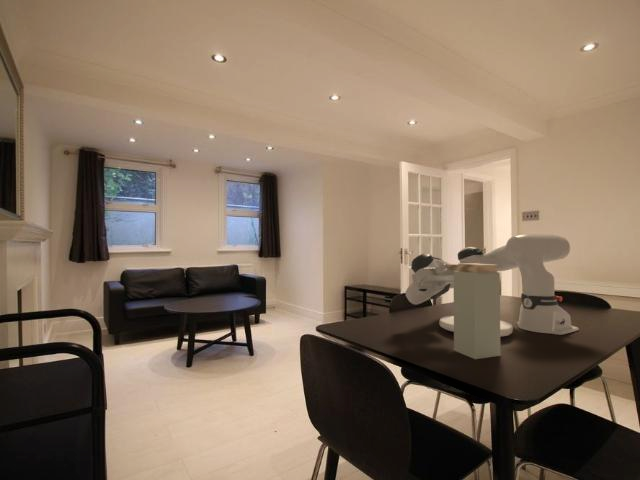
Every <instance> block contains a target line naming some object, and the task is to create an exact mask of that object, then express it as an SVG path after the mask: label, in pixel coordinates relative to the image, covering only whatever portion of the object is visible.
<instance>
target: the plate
mask: <svg viewBox="0 0 640 480" xmlns="http://www.w3.org/2000/svg"><path fill="white" fill-rule="evenodd" d="M438 322H439V323H438V324H439V326H440V328H443V329H444V330H447V331H450V332H453V333H454V315H446V316H442V317H440V319H439V321H438ZM513 327H514V326H513V324H512V323H510V322H508V321H505V320H502V319H500V338H501V337H507V336H510V335H511V334H512V333H513V331H514V328H513Z"/></svg>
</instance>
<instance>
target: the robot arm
mask: <svg viewBox="0 0 640 480" xmlns="http://www.w3.org/2000/svg"><path fill="white" fill-rule="evenodd" d="M570 251H571V245H570V242H569V240H568V239H566V237H564V236H559V235H555V234H531V233H530V234H529V233H528V234H524V233H523V234H519V235H514V236H510V238H509V239H507V241H506V244H505V245H503V246H501V247H498V248H497V247H496V248H495V249H493V250H491V251H489V252H487V253H483V252H484V250H483V249H482V250H481V249H480V248H479V247H476V246H466V247H463V248H462V249H461V250H460V251H458V253H457V259H458V261H459V264H462V263H480V264H495V265H497V272H505V271H510V270H513V269H514V270H515V269H517V268H518V269H519V272H520V277H521V289H522V290H521V291H522V293H521V294H520V295H521V296H520V302H521V305H520V307H519V318H518V321H517V327H518V328H520V329H521V330H524V331H529V332H533V333H541V334H552V335H557V336H558V335H559V336H561V335H566V334H571V333H573V332H577V331H580V330H579V327H577V326H574V325H572V320H571V315H570V314H569V313H568V312H567V311H566V310H564V309H563V308H562V307H561V306H559V303H558V302H562V301H563V297H562V296H558V295H555V276H554V274H553V273H551V272H549V271H548V270H547V268H546V267H545V265H544V263H548V262H549V263H550V262H553V261H554V262H555V261H558V260H563V259H566V257H567V256H568V255H569V254H570ZM448 264H450V263H448V262H447V261H445V260H443V259H441V258H439V257H436V256H433V255H432V254H430V253H422V254H418V255H417V256H416V257H414V258H413V259H412V260H411V265H410V268H411V270H412V271H413V273H412V274H411V279H412V283H411V284H410V285H409V286H408V287H407V288H406V290H405V297H406V298H407V301H408V302H410V303H411V304H412V305H420V304H422V303H424V302H427V301H428V300H437V299H438V298H440V297H441V296H443V295H445V294H446V293H448V292H449V291H450V289H454V279H453V271H458V270H449V269H448V268H449V267H448Z"/></svg>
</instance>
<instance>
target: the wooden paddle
mask: <svg viewBox="0 0 640 480" xmlns="http://www.w3.org/2000/svg"><path fill="white" fill-rule="evenodd" d="M448 267H449V268H448V269H449V270H458V271H462V272H471V273H497V272H498V271H497V265H495V264H480V263H462V264H460V263H458V264H457V263H455V264H454V263H449V264H448Z"/></svg>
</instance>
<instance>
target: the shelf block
mask: <svg viewBox="0 0 640 480" xmlns="http://www.w3.org/2000/svg"><path fill="white" fill-rule="evenodd" d="M500 272H501V271H497V273H471V272H462V271H453V279H454V288H453V316H454V332H453V351H454V352H457V353H459V354H461V355H464V356H467V357H469V358H471V359H473V360H479V359H480V360H481V359H486V358H494V357H500V356H501V354H502V353H501V337H500V320H501V287H500V286H501V285H500V284H501V282H500V280H501V279H500V277H501V276H500V274H501V273H500ZM501 357H502V356H501Z"/></svg>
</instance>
